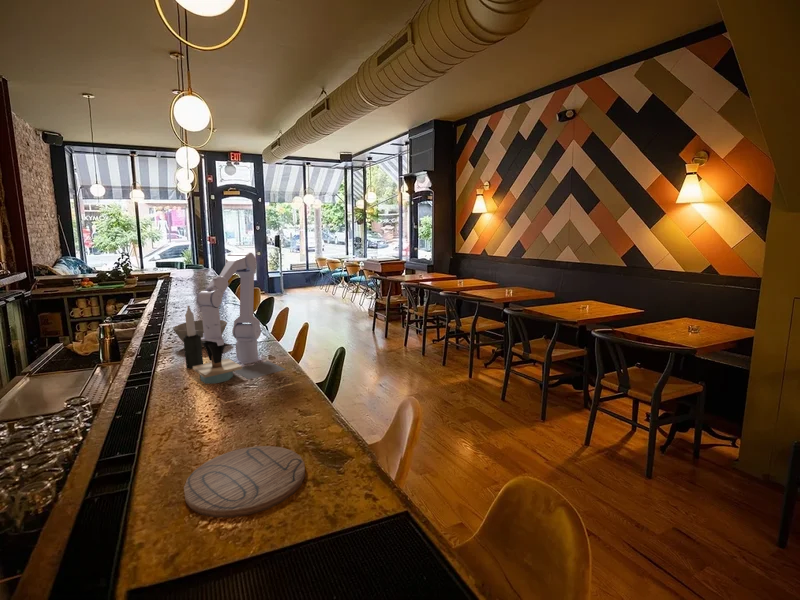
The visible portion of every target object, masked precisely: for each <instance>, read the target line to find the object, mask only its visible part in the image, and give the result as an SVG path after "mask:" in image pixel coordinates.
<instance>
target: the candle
mask: <svg viewBox="0 0 800 600" xmlns="http://www.w3.org/2000/svg"><path fill="white" fill-rule="evenodd" d="M186 307H187V310H186V313H184V314H185V315H184V316H185V317H184V318H185V323H186V327H187V335H185V337H184V338H183V341H184V342H183V341H182V342H183V347H184V348H183V350H184V357H185V367H186V370H190V369H191V370H193V367H192V366H197V365H201V364H204V358H203V357H204V356H203V351H202V350H203V347H202V346H201V337H200V335H198V334H196V332H195V323H194V321H195V315H194V312H192V310H191V308H190V305H187V306H186Z"/></svg>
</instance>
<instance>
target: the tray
mask: <svg viewBox="0 0 800 600" xmlns="http://www.w3.org/2000/svg"><path fill="white" fill-rule="evenodd" d="M286 370H287V369H286V368H284V367H282V366H281V365H277V364H276V363H273V362H272V361H269V360H266V361H262V362H258V363H255V364H251V365H246V366H242V369H240V370H236V371H233V372H234V373H236V374H237V375H239V376H241V377H243V378H245V379H246V380H251V379H255V378H259V377H264V376H267V375H270V374H271V375H272V374H275V373H278V372H281V371H282V372H283V371H286Z"/></svg>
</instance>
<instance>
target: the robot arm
mask: <svg viewBox="0 0 800 600" xmlns="http://www.w3.org/2000/svg"><path fill="white" fill-rule="evenodd" d="M256 273H257V257H256V256H255V254H254V253H253V252H229V253H228V254H227V256H226V257H225V264H224V266H223V268H222V270H221V272H220V274H219V275H217V276H213V278H212V279H211V281H210V282H209V284H208V285H207V286H206V287H205V289H204V290H201V291H200V292H199V293H198V294H197V297H196V300H195V301H196V304H197V307H198V308H199V311H200V313H201V320H202V321H203V330H204V333H203V338H201V340H202V341H204V342H202V344H203V345H204V347H203V348H204V349H205V351H206V353H207V354H206V355H207V357H208V359H209V361H211V362H212V359H211V356H213V360H214V363H219V362H221V360H223V359H222V358H223V351H224V350H225V347H226V345H227V344H226V342H225V340H224V339H223V334H222V335H221V325H220V320H221V317H220V305H222V302H223V300H222V299H223V296H224V293H225V291H226V290H227V289H228V287H229V282H228V281H229V280H230V279H231V278H232V276H234V274H237V275H238V276H239V278H240V283H239V284H240V285H239V287H240V288H239V289H240V291H239V292H240V293H239V316H238V317H237V318H236V319H234V320H233V327H232V336H233V337H234V339H235V340H236V343H235V353H236V358H234V360H236V362H240V363H241V364H243V365H246V364H251V363H254V362H259V361H262V360H263V359H262V358H260V357H259V351H258V340H259V338H260V336H261V333H262V328H261V323H260V322H261V321H260V320H259V319H258V318H257V317H256V316H254V302H255V301H254V299H255V297H254V295H255V294H254V292H255V286H254V285H255V275H256ZM205 340H206V341H205Z"/></svg>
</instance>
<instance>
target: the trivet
mask: <svg viewBox="0 0 800 600" xmlns="http://www.w3.org/2000/svg"><path fill="white" fill-rule="evenodd" d="M305 477H306V470H305V461H304V460H303V458H302V456H301V455H300V454H298V453H297V452H295V451H294V450H291V449H288V448H285V447H280V446H274V445H262V446H261V445H258V446H249V447H243V448H239V449H235V450H232V451H228V452H225V453H223V454H219V455H217V456H216V457H214V458H211V459H209V460H208V461H206V462H204V463H203V464H201V465H200V466H198V467H197V468H195V470H193V471H192V473H190V475H188V477H187V479H186V481H185V484H184V486H183V491H184V499H185V503H186V505H187V506H188V507H189V509H190V510H192V511H194V512H196V513H198V514H200V515H202V516H207V517H212V518H236V517H237V518H238V517H243V516H244V517H245V516H249V515H252V514H255V513H260V512H263V511H266V510H269V509H270V508H272V507H274V506H276V505H278V504H281V503H283V502H284V501H285V500H287V499H288V498H289V497H291V496H292V495H294V494H295V493H296V492H297V491H298V489H299V488H300V487H301V486H302V484H303V482H304V479H305Z"/></svg>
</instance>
